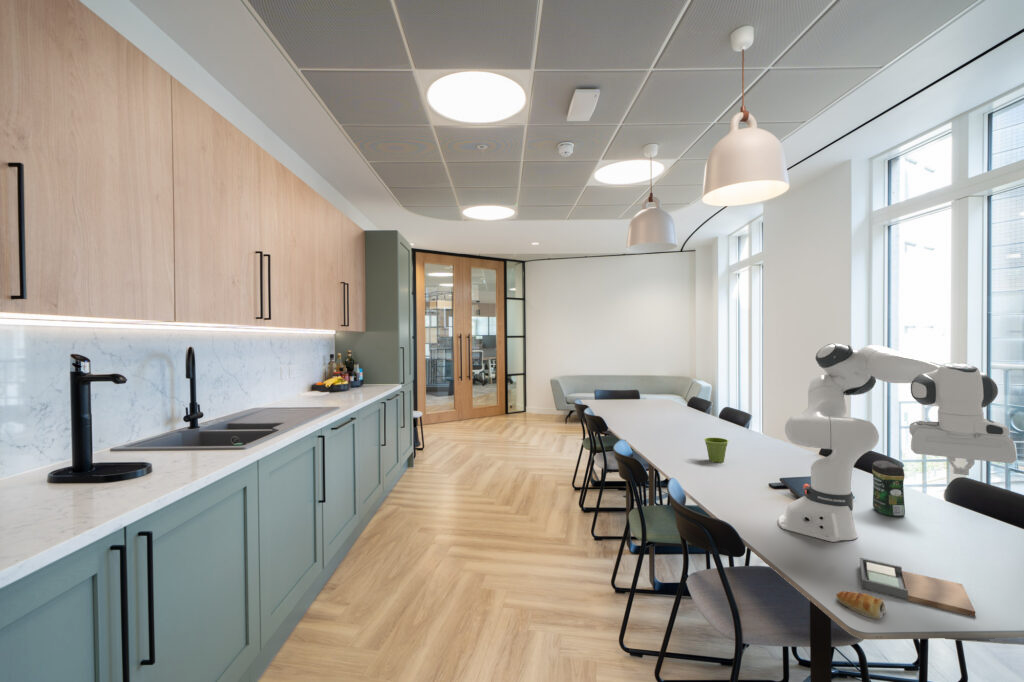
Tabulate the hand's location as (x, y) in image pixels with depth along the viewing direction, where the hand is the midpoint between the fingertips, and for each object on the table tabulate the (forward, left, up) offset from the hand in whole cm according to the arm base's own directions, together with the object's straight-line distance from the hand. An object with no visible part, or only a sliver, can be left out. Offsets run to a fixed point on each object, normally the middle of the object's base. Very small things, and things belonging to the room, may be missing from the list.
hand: (960, 474), depth 122 cm
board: (-7, -15, -28) cm, 33 cm away
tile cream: (-18, -12, -28) cm, 35 cm away
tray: (-18, -15, -28) cm, 36 cm away
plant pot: (-79, +84, -28) cm, 119 cm away
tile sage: (-18, -18, -28) cm, 38 cm away
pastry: (-22, -32, -29) cm, 49 cm away
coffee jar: (-12, +45, -28) cm, 55 cm away
